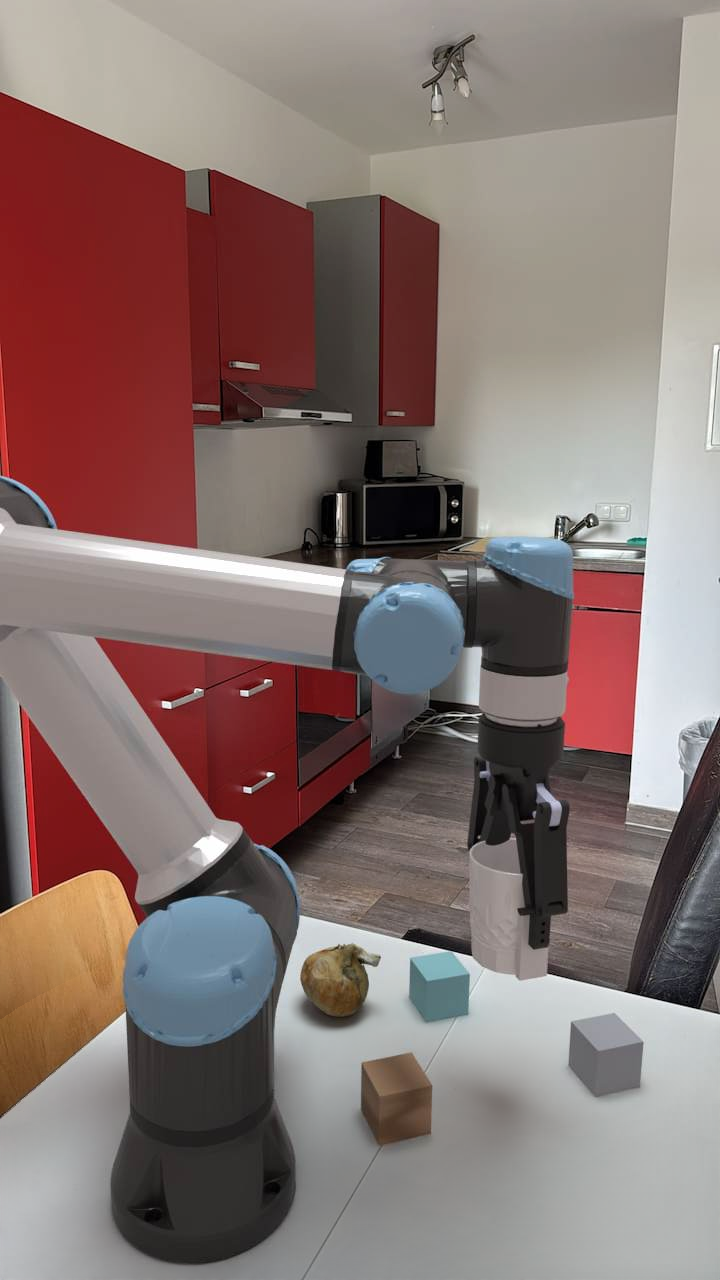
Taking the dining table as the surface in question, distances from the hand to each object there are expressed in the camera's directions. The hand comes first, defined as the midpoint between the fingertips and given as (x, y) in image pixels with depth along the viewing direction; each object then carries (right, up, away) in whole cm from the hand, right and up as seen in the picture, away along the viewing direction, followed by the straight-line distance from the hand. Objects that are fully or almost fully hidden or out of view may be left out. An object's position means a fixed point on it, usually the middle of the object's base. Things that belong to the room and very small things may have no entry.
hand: (509, 952), depth 88 cm
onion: (-17, -12, +17) cm, 27 cm away
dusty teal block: (-5, -12, +18) cm, 22 cm away
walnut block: (-11, -15, 0) cm, 19 cm away
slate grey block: (+10, -14, +6) cm, 19 cm away
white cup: (0, -1, 0) cm, 1 cm away
